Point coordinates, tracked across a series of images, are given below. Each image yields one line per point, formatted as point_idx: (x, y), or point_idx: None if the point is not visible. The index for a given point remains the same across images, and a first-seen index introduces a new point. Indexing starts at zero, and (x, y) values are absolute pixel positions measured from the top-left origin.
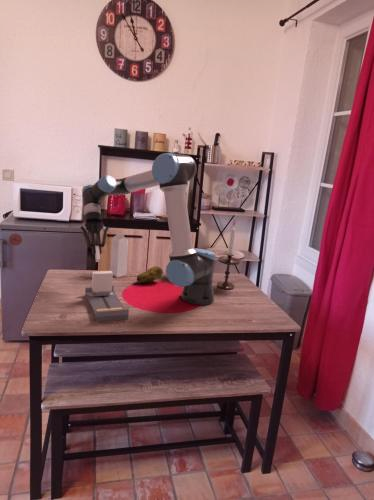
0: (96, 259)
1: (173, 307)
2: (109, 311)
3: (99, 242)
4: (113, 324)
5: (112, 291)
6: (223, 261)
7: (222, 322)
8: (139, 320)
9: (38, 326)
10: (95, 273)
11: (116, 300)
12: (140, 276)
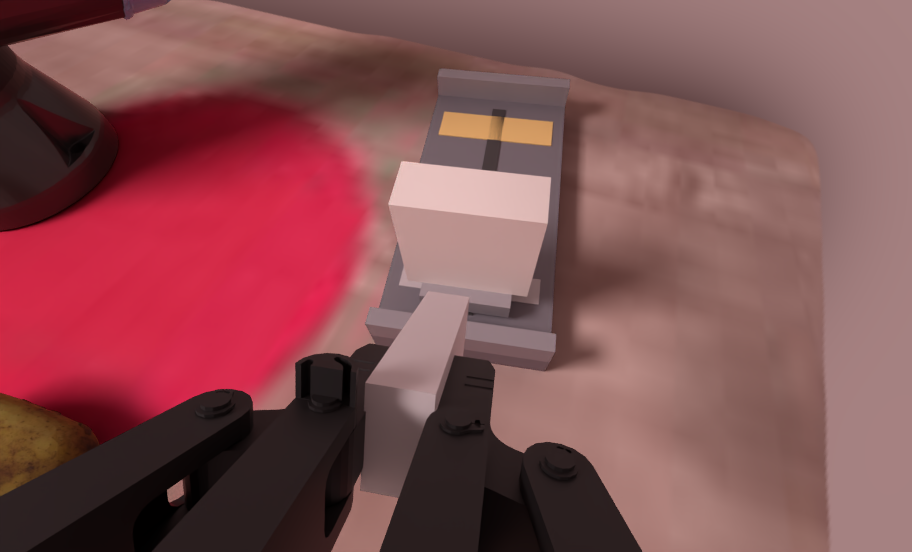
0: (466, 321)
1: (214, 130)
2: (519, 75)
3: (295, 440)
4: None
5: (390, 305)
6: None
7: (168, 19)
8: (408, 88)
9: (779, 143)
10: (534, 183)
11: None
12: (57, 433)
